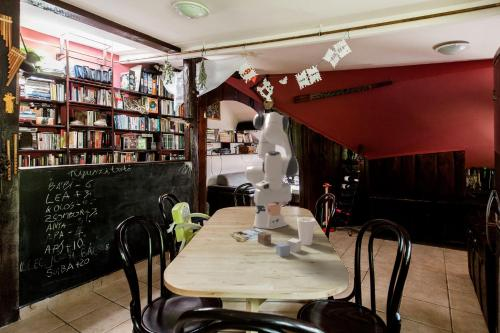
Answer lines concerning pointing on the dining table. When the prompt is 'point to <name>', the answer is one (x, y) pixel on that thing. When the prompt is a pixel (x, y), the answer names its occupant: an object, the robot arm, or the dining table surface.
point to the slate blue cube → (283, 249)
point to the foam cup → (305, 229)
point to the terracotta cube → (273, 209)
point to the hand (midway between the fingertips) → (273, 211)
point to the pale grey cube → (294, 245)
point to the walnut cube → (264, 238)
